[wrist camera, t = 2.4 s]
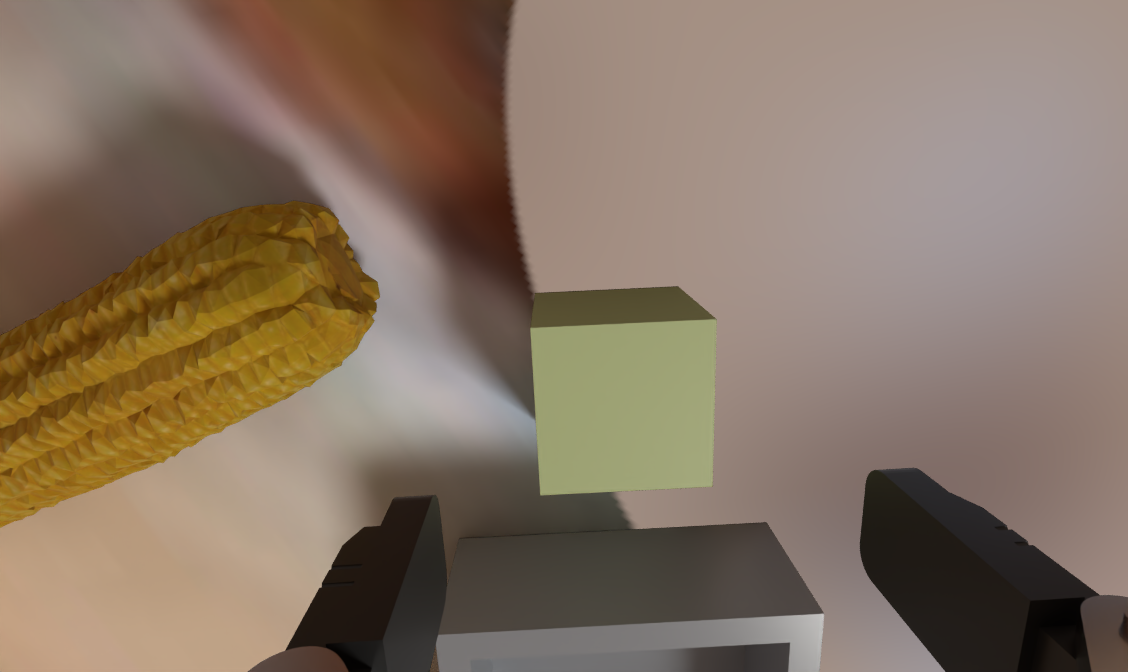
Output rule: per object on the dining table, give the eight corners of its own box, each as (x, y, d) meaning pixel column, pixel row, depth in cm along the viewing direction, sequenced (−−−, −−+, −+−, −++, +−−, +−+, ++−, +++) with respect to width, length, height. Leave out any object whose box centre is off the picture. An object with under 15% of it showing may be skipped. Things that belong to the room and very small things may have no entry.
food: (331, 171, 19) (239, 168, 14) (419, 318, 21) (369, 371, 15) (-159, 445, 22) (-417, 542, 16) (-50, 562, 23) (-250, 691, 17)
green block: (677, 286, 21) (716, 319, 16) (676, 418, 22) (712, 486, 17) (535, 293, 21) (530, 328, 16) (542, 425, 22) (540, 495, 17)
